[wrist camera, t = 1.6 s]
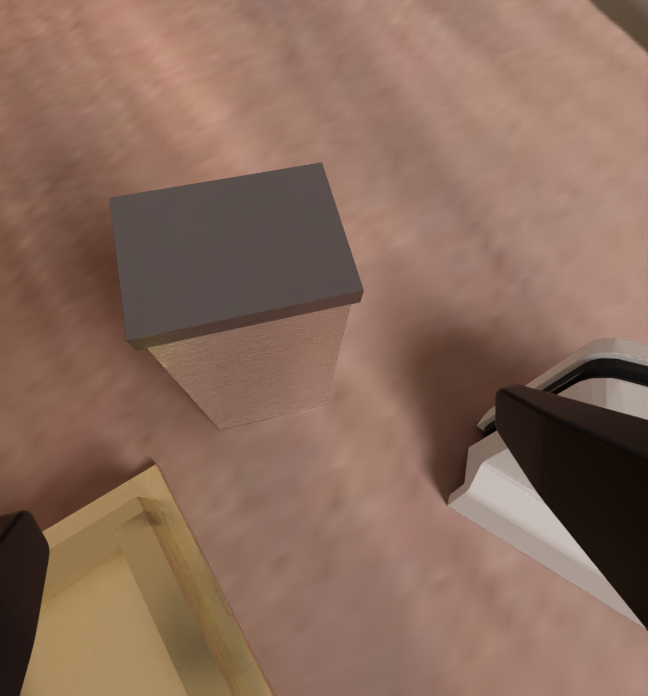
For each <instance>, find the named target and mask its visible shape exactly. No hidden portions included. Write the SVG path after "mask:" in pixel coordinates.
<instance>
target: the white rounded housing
mask: <svg viewBox="0 0 648 696" xmlns="http://www.w3.org/2000/svg"><path fill="white" fill-rule="evenodd" d="M525 386H527V387H530V388H534V389H537V390H541V391H545V392H548V393H552V394H556V395H559V396H563V397H567V398H570V399H574V400H578V401H581V402H585V403H589V404H592V405H596V406H599V407H603V408H607V409H610V410H614V411H618V412H621V413H625V414H629V415H632V416H636V417H640V418H643V419H647V420H648V345H647V344H643V343H638V342H633V341H628V340H624V339H619V338H602V339H597V340H594V341H591V342H589V343H588V344H586V345H585V346H583V347H582V348H580V349H579V350H577V351H576V352H574V353H573V354H571V355H570V356H568V357H567V358H565V359H564V360H562V361H561V362H559V363H558V364H556V365H555V366H553V367H552V368H550V369H549V370H547V371H546V372H545V373H543V374H542V375H540V376H539V377H537V378H536V379H534V380H533V381H531V382H530V383H528V384H527V385H525ZM477 427H478V428H480V429H482V430H483V431H484V432H483V434H484V435H486V436H487V437H485V438H484V439H482V440H480V441H479V442H477V443H475V444H474V445H472V446H470V447H469V449H468V458H467V466H466V474H465V482H464V484H463V485H462V486H461V487H459V488H458V489H457V490H455V491H454V492H453V493H452V494H450V496H449V500H448V504H447V506H448V507H450V508H452V509H453V510H455V511H456V512H458V513H460V514H461V515H463V516H464V517H466V518H468V519H469V520H471V521H472V522H474V523H476V524H477V525H479V526H481V527H482V528H484V529H485V530H487V531H489V532H490V533H492V534H493V535H495V536H497V537H498V538H500V539H502V540H503V541H505V542H506V543H508V544H510V545H511V546H513V547H514V548H516V549H518V550H519V551H521V552H522V553H524V554H526V555H527V556H529V557H531V558H532V559H534V560H535V561H537V562H539V563H540V564H542V565H543V566H545V567H547V568H548V569H550V570H551V571H553V572H555V573H556V574H558V575H560V576H561V577H563V578H564V579H566V580H568V581H569V582H571V583H572V584H574V585H576V586H577V587H579V588H581V589H582V590H584V591H585V592H587V593H589V594H590V595H592V596H593V597H595V598H597V599H598V600H600V601H601V602H603V603H605V604H606V605H608V606H610V607H611V608H613V609H614V610H616V611H618V612H619V613H621V614H622V615H624V616H626V617H627V618H629V619H631V620H632V621H634V622H635V623H637V624H639V625H640V626H642V627H643V628H645V627H644V625H643V624H642V623H641V622H640V621H639V619H638V618H637V617H636V616H635V614H634V613H633V612H632V611H631V609H630V608H629V607H628V606H627V604H626V603H625V602H624V601H623V599H622V598H621V597H620V596H619V594H618V593H617V592H616V591H615V589H614V588H613V587H612V586H611V585H610V583H609V582H608V581H607V580H606V578H605V577H604V576H603V575H602V573H601V572H600V571H599V570H598V568H597V567H596V566H595V565H594V563H593V562H592V561H591V560H590V558H589V557H588V556H587V555H586V554H585V552H584V551H583V550H582V549H581V547H580V546H579V545H578V544H577V542H576V541H575V540H574V539H573V537H572V536H571V535H570V534H569V532H568V531H567V530H566V529H565V527H564V526H563V525H562V524H561V522H560V521H559V520H558V519H557V518H556V516H555V515H554V514H553V513H552V511H551V510H550V509H549V508H548V506H547V505H546V504H545V503H544V501H543V500H542V499H541V497H540V496H539V495H538V493H537V492H536V490H535V489H534V488H533V486H532V485H531V483H530V482H529V480H528V479H527V477H526V475H525V474H524V472H523V471H522V469H521V468H520V466H519V465H518V463H517V462H516V460H515V459H514V457H513V455H512V454H511V452H510V451H509V449H508V448H507V446H506V445H505V443H504V442H503V440H502V438H501V437H500V435H499V434H498V432H497V429H496V426H495V406H494V407H492V408H491V409H489V410H488V412H487V413H486V414H485V415H484V416H483V417H482V419H481V420H480V422H479V423H478V424H477ZM645 629H646V628H645Z"/></svg>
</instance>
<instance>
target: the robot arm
mask: <svg viewBox="0 0 648 696" xmlns="http://www.w3.org/2000/svg"><path fill="white" fill-rule="evenodd" d="M495 426H496V429H497V432H498V434H499V435H500V437H501V438H502V440H503V442H504V443H505V445H506V446H507V448H508V449H509V451H510V452H511V454H512V455H513V457H514V459H515V460H516V462H517V463H518V465H519V466H520V468H521V469H522V471H523V472H524V474H525V475H526V477H527V479H528V480H529V482H530V483H531V485H532V486H533V488H534V489H535V490H536V492H537V493H538V495H539V496H540V497H541V499H542V500H543V501H544V503H545V504H546V505H547V506H548V508H549V509H550V510H551V511H552V513H553V514H554V515H555V516H556V518H557V519H558V520H559V521H560V522H561V524H562V525H563V526H564V527H565V529H566V530H567V531H568V532H569V534H570V535H571V536H572V537H573V539H574V540H575V541H576V542H577V544H578V545H579V546H580V547H581V549H582V550H583V551H584V552H585V554H586V555H587V556H588V557H589V558H590V560H591V561H592V562H593V563H594V565H595V566H596V567H597V568H598V570H599V571H600V572H601V573H602V575H603V576H604V577H605V578H606V580H607V581H608V582H609V583H610V585H611V586H612V587H613V588H614V589H615V591H616V592H617V593H618V594H619V596H620V597H621V598H622V599H623V601H624V602H625V603H626V604H627V606H628V607H629V608H630V609H631V611H632V612H633V613H634V614H635V616H636V617H637V618H638V619H639V621H640V622H641V623H642V624H643V625H644V627H645V628H646V629H647V630H648V420H647V419H643V418H640V417H636V416H632V415H629V414H625V413H621V412H618V411H614V410H610V409H607V408H603V407H599V406H596V405H592V404H589V403H585V402H581V401H578V400H574V399H570V398H567V397H563V396H559V395H556V394H552V393H548V392H545V391H541V390H537V389H534V388H530V387H527V386H523V385H519V384H514V385H510V386H506V387H503V388H500V389H499V390H498V391H497V393H496V402H495ZM49 555H50V549H49V544H48V542H47V540H46V538H45V536H44V534H43V533H42V531H41V529H40V527H39V526H38V524H37V522H36V521H35V519H34V517H33V516H32V514H31V513H30V512H28V511H25V510H22V511H18V512H14V513H10V514H6V515H3V516H0V696H20V693H21V690H22V686H23V683H24V679H25V676H26V672H27V668H28V665H29V661H30V658H31V654H32V650H33V646H34V642H35V637H36V632H37V627H38V621H39V615H40V609H41V603H42V597H43V591H44V586H45V580H46V574H47V568H48V562H49Z"/></svg>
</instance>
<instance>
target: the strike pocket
mask: <svg viewBox="0 0 648 696" xmlns="http://www.w3.org/2000/svg"><path fill="white" fill-rule="evenodd" d="M42 533H43V534H44V536H45V538H46V540H47V542H48V544H49V549H50V555H49V562H48V568H47V574H46V580H45V586H44V591H43V597H42V603H41V609H40V615H39V621H38V627H37V632H36V637H35V642H34V646H33V650H32V654H31V658H30V661H29V665H28V668H27V672H26V676H25V679H24V683H23V686H22V690H21V693H20V696H275V695H274V693H273V691H272V689H271V687H270V685H269V683H268V681H267V679H266V677H265V675H264V673H263V671H262V670H261V668H260V666H259V664H258V662H257V660H256V658H255V656H254V654H253V652H252V650H251V648H250V646H249V644H248V642H247V640H246V638H245V636H244V634H243V632H242V630H241V628H240V626H239V624H238V622H237V620H236V618H235V616H234V614H233V612H232V610H231V608H230V606H229V604H228V602H227V600H226V598H225V596H224V594H223V592H222V591H221V589H220V587H219V585H218V583H217V581H216V579H215V577H214V575H213V573H212V571H211V569H210V567H209V565H208V563H207V561H206V559H205V557H204V555H203V553H202V551H201V549H200V547H199V545H198V543H197V541H196V539H195V537H194V535H193V533H192V531H191V529H190V527H189V525H188V523H187V521H186V519H185V517H184V515H183V513H182V512H181V510H180V508H179V506H178V504H177V502H176V500H175V498H174V496H173V494H172V492H171V490H170V488H169V486H168V484H167V482H166V480H165V478H164V476H163V474H162V472H161V470H160V468H159V466H158V465H154V466H152V467H150V468H149V469H147V470H145V471H144V472H142V473H140V474H139V475H137V476H135V477H134V478H132V479H130V480H129V481H127V482H125V483H123V484H122V485H120V486H118V487H117V488H115V489H113V490H112V491H110V492H108V493H107V494H105V495H103V496H102V497H100V498H98V499H97V500H95V501H93V502H91V503H90V504H88V505H86V506H85V507H83V508H81V509H80V510H78V511H76V512H75V513H73V514H71V515H70V516H68V517H66V518H64V519H63V520H61V521H59V522H58V523H56V524H54V525H53V526H51V527H49V528H48V529H46V530H44V531H43V532H42Z"/></svg>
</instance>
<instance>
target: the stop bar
mask: <svg viewBox="0 0 648 696" xmlns="http://www.w3.org/2000/svg"><path fill="white" fill-rule="evenodd" d="M109 199H110V208H111V216H112V225H113V233H114V241H115V250H116V258H117V266H118V275H119V283H120V291H121V300H122V308H123V316H124V325H125V333H126V341H127V342H128V343H129V344H130V345H131V346H132V347H133V348H134V349H135V350H140V349H144V348H147V349H148V350H149V351H150V352H151V353H152V355H153V356H154V357H155V358H156V359H157V360H158V361H159V362H160V364H161V365H162V366H163V367H164V368H165V369H166V370H167V371H168V372H169V374H170V375H171V376H172V377H173V378H174V379H175V380H176V381H177V383H178V384H179V385H180V386H181V387H182V388H183V389H184V390H185V391H186V393H187V394H188V395H189V396H190V397H191V398H192V399H193V400H194V402H195V403H196V404H197V405H198V406H199V407H200V408H201V409H202V410H203V412H204V413H205V414H206V415H207V416H208V417H209V418H210V419H211V421H212V422H213V423H214V424H215V425H216V426H217V427H218V428H219V429H220V430H224V429H228V428H232V427H236V426H240V425H244V424H248V423H252V422H256V421H261V420H265V419H269V418H273V417H277V416H281V415H285V414H289V413H293V412H297V411H301V410H305V409H309V408H313V407H318V406H322V405H326V402H327V398H328V394H329V390H330V386H331V382H332V378H333V374H334V370H335V366H336V362H337V358H338V354H339V350H340V346H341V342H342V338H343V334H344V330H345V326H346V322H347V318H348V314H349V310H350V306H351V304H354V303H359V302H360V301H361V298H362V294H363V291H364V290H363V287H362V284H361V281H360V278H359V275H358V272H357V268H356V265H355V262H354V259H353V256H352V253H351V250H350V247H349V244H348V241H347V238H346V235H345V232H344V229H343V226H342V223H341V220H340V217H339V213H338V210H337V207H336V204H335V201H334V198H333V195H332V192H331V189H330V186H329V183H328V180H327V177H326V174H325V171H324V168H323V165H322V163H316V164H310V165H304V166H298V167H292V168H286V169H280V170H274V171H268V172H262V173H256V174H250V175H244V176H238V177H232V178H226V179H220V180H214V181H208V182H202V183H196V184H190V185H184V186H178V187H172V188H166V189H160V190H154V191H148V192H142V193H136V194H130V195H124V196H118V197H112V198H109Z"/></svg>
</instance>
